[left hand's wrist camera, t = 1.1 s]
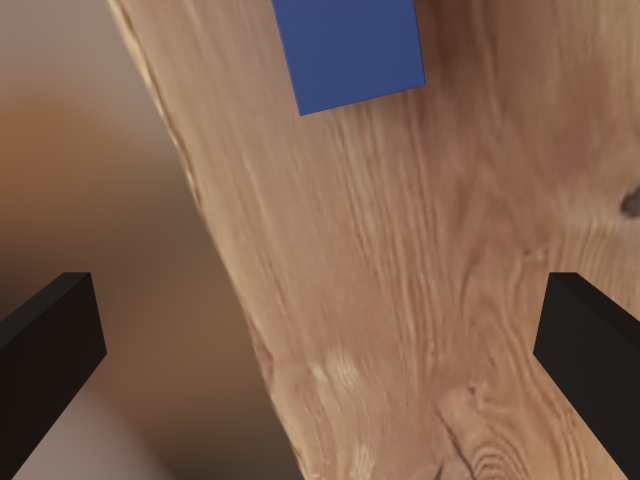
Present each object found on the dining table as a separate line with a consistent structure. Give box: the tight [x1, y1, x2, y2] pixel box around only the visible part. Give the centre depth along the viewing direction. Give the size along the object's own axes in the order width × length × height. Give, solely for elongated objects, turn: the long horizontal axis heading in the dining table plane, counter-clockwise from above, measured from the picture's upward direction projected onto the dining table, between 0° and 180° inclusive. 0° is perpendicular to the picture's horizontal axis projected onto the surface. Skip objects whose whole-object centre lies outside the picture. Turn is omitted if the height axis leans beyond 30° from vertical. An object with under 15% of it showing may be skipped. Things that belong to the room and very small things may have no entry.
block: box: [272, 0, 426, 116], centre depth 21 cm, size 5×8×9 cm, turn 13°
